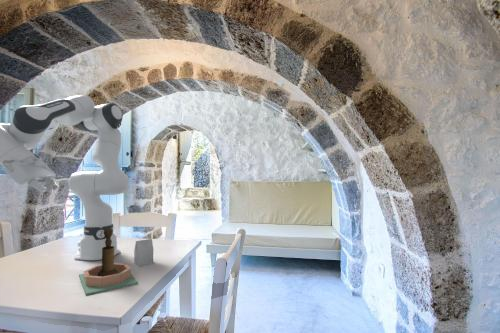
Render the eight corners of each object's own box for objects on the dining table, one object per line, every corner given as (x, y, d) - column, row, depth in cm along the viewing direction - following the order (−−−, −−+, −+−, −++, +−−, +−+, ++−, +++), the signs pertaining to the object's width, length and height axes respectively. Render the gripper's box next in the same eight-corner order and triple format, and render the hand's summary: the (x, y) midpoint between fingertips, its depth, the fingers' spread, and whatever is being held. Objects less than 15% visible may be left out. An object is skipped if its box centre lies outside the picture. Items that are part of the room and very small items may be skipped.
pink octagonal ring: (82, 276, 106) (82, 268, 106) (123, 268, 114) (124, 261, 114) (87, 289, 94) (87, 280, 94) (133, 280, 103) (133, 271, 103)
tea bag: (153, 263, 123) (153, 239, 123) (137, 266, 119) (137, 242, 119) (149, 260, 126) (150, 238, 126) (134, 264, 122) (134, 240, 122)
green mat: (78, 276, 107) (78, 274, 107) (124, 267, 117) (124, 266, 117) (85, 295, 91) (85, 293, 91) (138, 283, 101) (138, 282, 101)
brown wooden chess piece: (120, 274, 108) (121, 226, 108) (113, 281, 101) (114, 230, 101) (102, 274, 107) (103, 226, 107) (94, 281, 101) (94, 230, 101)
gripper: (8, 153, 88) (43, 185, 90) (41, 155, 108) (69, 182, 110) (-10, 167, 87) (27, 199, 89) (27, 167, 107) (56, 193, 109)
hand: (51, 189), depth 99 cm, fingers open, 8 cm apart
